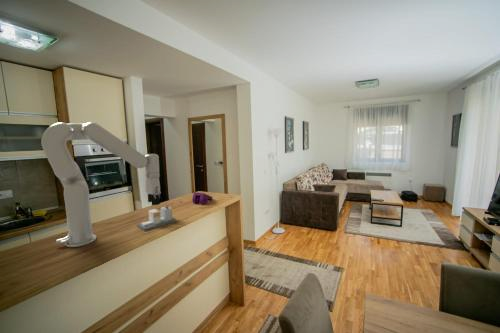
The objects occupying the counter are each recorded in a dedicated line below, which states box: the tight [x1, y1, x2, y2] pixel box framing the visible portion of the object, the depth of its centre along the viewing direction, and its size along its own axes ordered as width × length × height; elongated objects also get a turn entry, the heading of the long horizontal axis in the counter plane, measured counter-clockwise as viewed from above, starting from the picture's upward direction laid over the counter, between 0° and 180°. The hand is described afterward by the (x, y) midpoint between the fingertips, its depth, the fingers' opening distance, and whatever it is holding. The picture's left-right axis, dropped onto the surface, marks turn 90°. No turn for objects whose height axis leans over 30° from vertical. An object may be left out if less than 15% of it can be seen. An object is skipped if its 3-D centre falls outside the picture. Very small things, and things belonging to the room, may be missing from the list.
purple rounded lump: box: [191, 191, 213, 206], centre depth 182 cm, size 9×8×18 cm
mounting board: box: [136, 205, 177, 232], centre depth 134 cm, size 20×10×10 cm, turn 138°
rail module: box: [148, 208, 161, 225], centre depth 133 cm, size 4×6×7 cm
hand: (153, 202), depth 132 cm, fingers open, 7 cm apart
